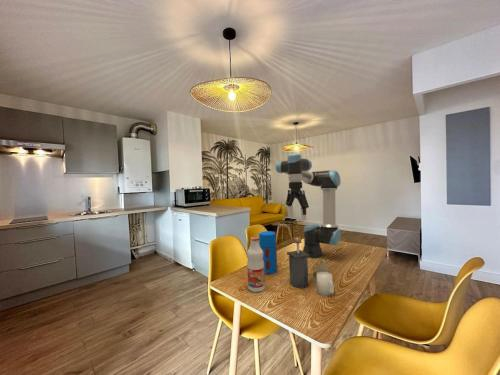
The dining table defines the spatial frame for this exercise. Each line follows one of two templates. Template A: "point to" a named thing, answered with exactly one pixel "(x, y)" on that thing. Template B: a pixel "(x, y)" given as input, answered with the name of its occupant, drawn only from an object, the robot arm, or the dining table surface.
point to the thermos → (268, 251)
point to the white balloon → (325, 284)
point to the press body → (298, 269)
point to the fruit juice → (255, 266)
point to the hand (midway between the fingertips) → (297, 218)
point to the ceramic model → (320, 270)
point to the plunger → (297, 240)
